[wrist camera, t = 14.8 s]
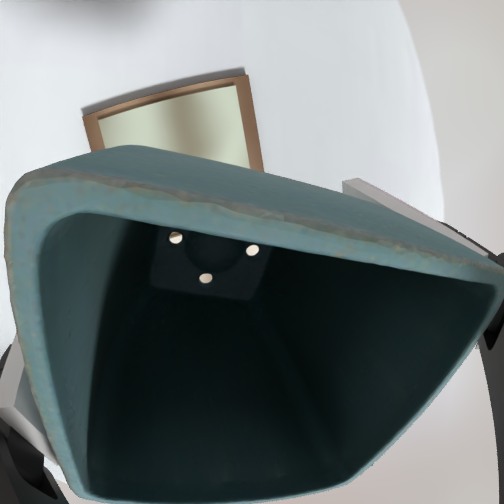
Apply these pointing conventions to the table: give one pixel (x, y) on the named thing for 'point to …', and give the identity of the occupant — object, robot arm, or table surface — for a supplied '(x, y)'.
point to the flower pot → (228, 325)
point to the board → (186, 126)
